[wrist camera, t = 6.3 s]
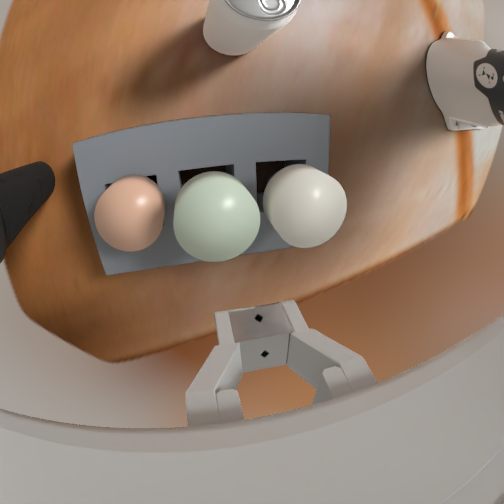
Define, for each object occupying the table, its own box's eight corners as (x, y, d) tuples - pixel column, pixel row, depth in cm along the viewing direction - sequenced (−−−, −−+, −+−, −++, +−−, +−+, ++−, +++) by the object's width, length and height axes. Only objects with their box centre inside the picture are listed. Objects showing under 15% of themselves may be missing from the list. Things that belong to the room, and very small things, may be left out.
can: (226, 67, 24) (252, 40, 13) (190, 26, 20) (195, -20, 10) (273, 38, 23) (323, 7, 13) (239, -1, 19) (271, -50, 9)
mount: (304, 112, 28) (329, 115, 23) (302, 221, 35) (322, 242, 30) (92, 136, 24) (72, 143, 18) (116, 248, 31) (106, 275, 26)
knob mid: (236, 155, 25) (259, 176, 17) (239, 213, 28) (261, 255, 20) (172, 163, 23) (167, 188, 16) (180, 221, 26) (181, 267, 19)
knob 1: (164, 158, 26) (157, 177, 19) (172, 210, 29) (169, 245, 22) (112, 168, 25) (87, 191, 18) (122, 218, 28) (104, 256, 21)
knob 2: (304, 151, 26) (350, 171, 19) (303, 206, 29) (342, 242, 22) (246, 154, 25) (273, 175, 18) (248, 212, 28) (274, 253, 21)
